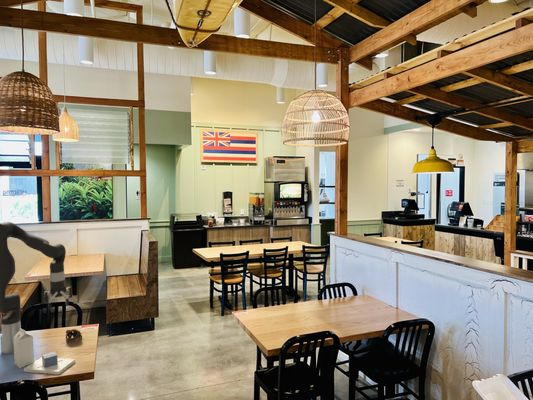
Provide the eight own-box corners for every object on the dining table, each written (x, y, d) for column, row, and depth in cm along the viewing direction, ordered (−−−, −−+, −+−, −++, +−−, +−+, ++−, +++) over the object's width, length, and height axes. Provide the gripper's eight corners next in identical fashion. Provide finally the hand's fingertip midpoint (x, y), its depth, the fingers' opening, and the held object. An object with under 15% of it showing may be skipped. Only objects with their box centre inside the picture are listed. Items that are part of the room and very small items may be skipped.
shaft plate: (24, 371, 199) (23, 362, 198) (42, 359, 211) (41, 351, 211) (58, 374, 196) (58, 365, 195) (75, 362, 208) (74, 353, 208)
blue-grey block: (44, 367, 199) (44, 358, 199) (42, 363, 204) (41, 354, 203) (57, 364, 203) (57, 354, 203) (54, 359, 208) (54, 350, 207)
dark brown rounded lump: (86, 339, 238) (83, 331, 233) (74, 351, 231) (70, 343, 226) (73, 331, 242) (69, 323, 238) (60, 342, 236) (56, 334, 231)
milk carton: (29, 359, 212) (27, 325, 211) (34, 363, 207) (32, 329, 206) (14, 364, 206) (12, 329, 205) (19, 368, 202) (17, 333, 201)
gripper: (44, 283, 211) (46, 311, 212) (72, 278, 221) (73, 305, 222) (41, 280, 217) (43, 308, 218) (69, 275, 226) (70, 302, 227)
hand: (58, 306), depth 220 cm, fingers open, 8 cm apart
